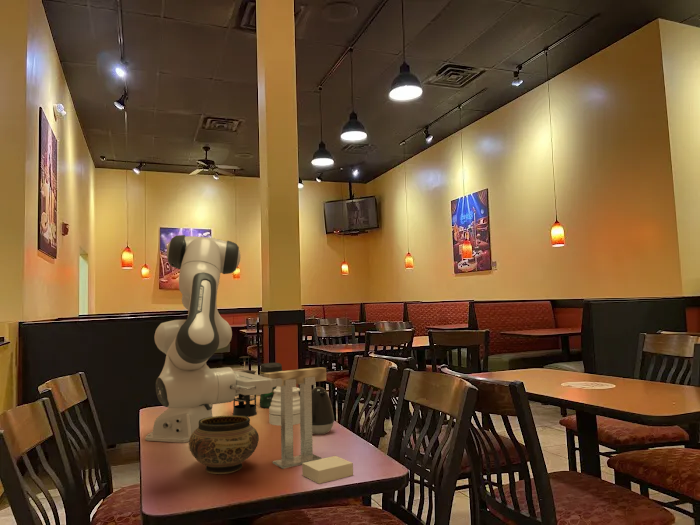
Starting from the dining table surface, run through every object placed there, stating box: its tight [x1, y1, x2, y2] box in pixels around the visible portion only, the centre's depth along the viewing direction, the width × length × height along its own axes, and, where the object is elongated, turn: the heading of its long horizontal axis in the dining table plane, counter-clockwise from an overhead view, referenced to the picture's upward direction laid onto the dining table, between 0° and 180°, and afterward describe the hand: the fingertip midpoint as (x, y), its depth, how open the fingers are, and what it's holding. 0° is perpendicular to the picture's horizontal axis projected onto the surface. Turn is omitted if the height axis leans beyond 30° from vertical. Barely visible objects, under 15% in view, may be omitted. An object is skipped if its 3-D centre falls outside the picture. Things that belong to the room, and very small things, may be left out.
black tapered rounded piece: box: [311, 386, 335, 435], centre depth 174 cm, size 10×10×15 cm
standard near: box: [272, 379, 303, 469], centre depth 141 cm, size 6×6×23 cm
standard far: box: [293, 377, 323, 463], centre depth 144 cm, size 6×6×23 cm
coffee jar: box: [259, 362, 283, 409], centre depth 223 cm, size 10×8×19 cm
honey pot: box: [268, 386, 300, 427], centre depth 193 cm, size 13×13×18 cm
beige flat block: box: [301, 455, 354, 485], centre depth 130 cm, size 10×8×3 cm
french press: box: [232, 355, 257, 418], centre depth 208 cm, size 12×9×23 cm
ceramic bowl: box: [188, 414, 260, 475], centre depth 137 cm, size 24×18×15 cm
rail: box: [264, 366, 327, 387], centre depth 143 cm, size 18×3×4 cm, turn 125°
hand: (272, 379), depth 139 cm, fingers open, 8 cm apart
